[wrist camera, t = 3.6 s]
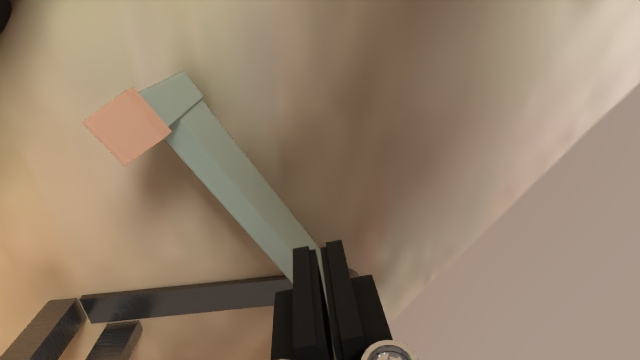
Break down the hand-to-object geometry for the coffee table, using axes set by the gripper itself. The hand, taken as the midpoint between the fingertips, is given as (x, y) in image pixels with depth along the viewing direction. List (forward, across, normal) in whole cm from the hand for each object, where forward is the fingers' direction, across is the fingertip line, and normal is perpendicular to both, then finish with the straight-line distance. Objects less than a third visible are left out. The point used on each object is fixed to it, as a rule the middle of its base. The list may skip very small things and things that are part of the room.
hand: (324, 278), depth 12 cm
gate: (+10, +3, +1) cm, 11 cm away
